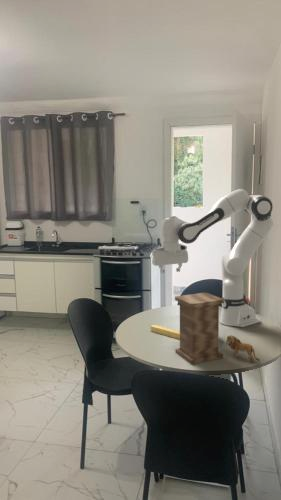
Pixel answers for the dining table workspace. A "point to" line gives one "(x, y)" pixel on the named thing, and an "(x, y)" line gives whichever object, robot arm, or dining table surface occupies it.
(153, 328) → the mustard rod
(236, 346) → the lion figurine
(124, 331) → the dining table surface
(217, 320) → the walnut pedestal
